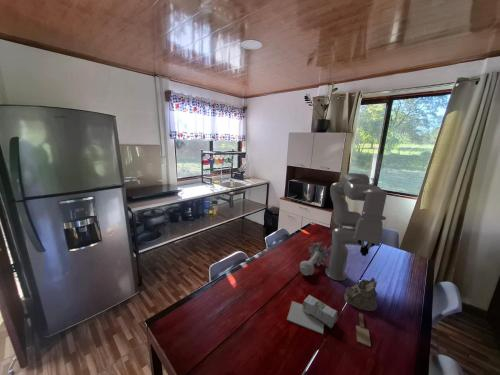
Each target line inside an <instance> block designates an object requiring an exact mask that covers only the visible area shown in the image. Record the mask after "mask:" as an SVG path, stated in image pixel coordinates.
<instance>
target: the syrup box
mask: <svg viewBox="0 0 500 375" xmlns="http://www.w3.org/2000/svg"><path fill="white" fill-rule="evenodd" d="M302 305H303V307H302V310H303V311H304V312H306V313H308V314H309V315H311V316H312V317H314V318H315V319H317V320H318V321H320V322H322V323H323V324H324V326H326V327H328V328H330V329H332V328H333V327H334V325H335V323H336V321H337V317H338V310H336V309H334V308H333V307H331V306H329V305H327V304H326V303H324V302H322V301H321V300H319V299H317V298H316V297H314V296H312V295H310V294H308V296H307V297H306V298H305V299H304V300H303V303H302Z"/></svg>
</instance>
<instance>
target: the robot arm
mask: <svg viewBox="0 0 500 375" xmlns="http://www.w3.org/2000/svg"><path fill="white" fill-rule="evenodd" d="M329 191H330V192H329V194H330V198H331V201H332V205H333V220H334V223H335V225H337V226H340V227H335V228H334V229H333V230H332V231H331V233H332V234H331V235H332V236H331V239H332V240H331V250H330V254H329V262H328V267H326V268H325V270H324V273H325V275H326V276H327V277H328V278H329V279H332V280H334V281H337V282H344V281H345V280H346V279H347V278H348V277H347V276H348V275H347V273H346V272H345V271H346V267H347V260H348V256H349V248H348V247H347V246H358V247H359V246H360V248H359V249H360V251H359V253H361V256H362V257H363V256H364V257H367V255H368V254H369V250H370V249H371V248H372V247H380V246H381V241H382V236H383V221H386V218H387V217H386V216H384V215H383V214H384V210H385V204H386V200H387V195H388V194H387V192H386V190H383V189H382V188H381V187H380V186H377V185H374V184H373V185H372V184H371V185H370V177H369V176H368V175H367V174H365V173H354V172H347V173H344V174H343V175H342V176H341V179H340V181H339V182H333V183H331V185H330V188H329ZM344 197H347V199H349V200H352V201H361V202H363V207H362V211H361V213H360V212H357V211H351V210H349V203H348V202H347V200H346V199H345V198H344ZM365 242H366V244H365Z"/></svg>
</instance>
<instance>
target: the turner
mask: <svg viewBox="0 0 500 375" xmlns="http://www.w3.org/2000/svg"><path fill="white" fill-rule="evenodd" d="M358 319H359V320H358V321H359V323H358V324H359V325H357V324H356V325H355V330H356V331H355V333H356V342H357V343H358V344H361V345H363V346H366V347H370V348H371V346H372V344H371V337H370V329H368V328H365V320H364V319H365V318H364V314H363V313H361V312H359V313H358Z"/></svg>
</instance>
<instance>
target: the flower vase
mask: <svg viewBox="0 0 500 375" xmlns="http://www.w3.org/2000/svg"><path fill="white" fill-rule="evenodd" d="M322 244H323V241H321V242H314V243H313V242H311V243H310V246H308V247H307V249H308V253H310V254H311V255H310V256H309V257H310V259H309V260H302V261H301V262H300V263H299V271H300V273H301V274H302V275H304V276H306V277H307V276H312V275H314V272H315V266H314V265H317V267H320V266H321V265H323V266H324V263H323V262H322V261H324V262H326V261H327V260H326V257H329V254H328V248H327V245H325V246H322V247H321V245H322ZM315 246H316V247H315Z"/></svg>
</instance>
